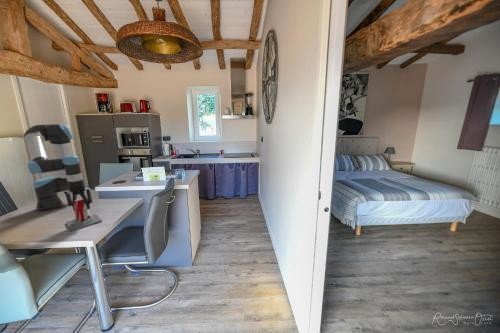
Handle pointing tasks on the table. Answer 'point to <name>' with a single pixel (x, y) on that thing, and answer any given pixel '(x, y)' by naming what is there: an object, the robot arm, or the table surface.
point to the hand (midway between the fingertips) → (83, 214)
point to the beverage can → (80, 210)
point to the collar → (84, 220)
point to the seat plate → (75, 227)
